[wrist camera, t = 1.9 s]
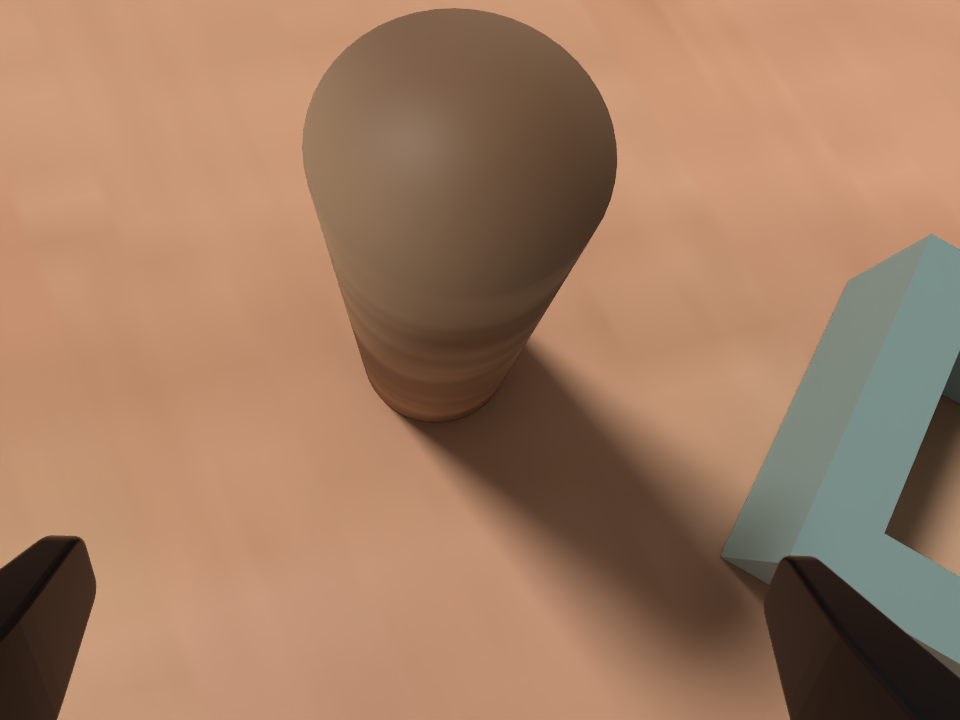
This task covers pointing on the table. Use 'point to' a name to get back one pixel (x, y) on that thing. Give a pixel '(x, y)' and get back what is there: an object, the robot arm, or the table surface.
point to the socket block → (866, 445)
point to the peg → (454, 196)
